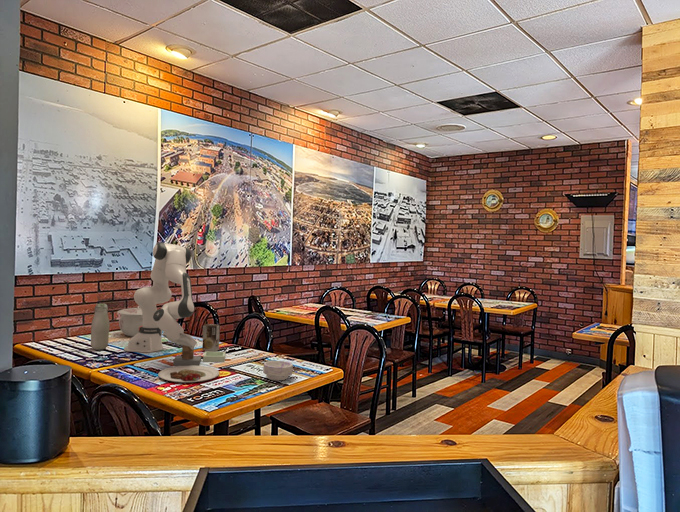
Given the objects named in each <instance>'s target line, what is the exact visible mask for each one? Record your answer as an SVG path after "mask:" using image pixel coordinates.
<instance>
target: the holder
mask: <svg viewBox="0 0 680 512" xmlns="http://www.w3.org/2000/svg"><path fill="white" fill-rule="evenodd" d="M225 361H226V351H204V353H203V356H202V362H203V363H225Z"/></svg>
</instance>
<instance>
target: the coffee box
mask: <svg viewBox="0 0 680 512" xmlns="http://www.w3.org/2000/svg"><path fill="white" fill-rule="evenodd" d="M220 333H221V325H220V324H219V323H218V324H216V323H214V324H213V323H206V324H203V325H202V350H205V351H204V352H218V351H219V349H220V336H221V335H220ZM202 350H201V351H202Z"/></svg>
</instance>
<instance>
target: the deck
mask: <svg viewBox="0 0 680 512" xmlns="http://www.w3.org/2000/svg"><path fill="white" fill-rule="evenodd" d="M201 363H202V356H200V355H194V356H193V359H188V360H187V359H184V358H182V355H176V356H174V358H173V360H172V367H176V366H188V365H196V366H201Z"/></svg>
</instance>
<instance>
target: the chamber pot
mask: <svg viewBox="0 0 680 512" xmlns="http://www.w3.org/2000/svg"><path fill="white" fill-rule="evenodd" d="M116 313H117V314H118V315H119V314H120V316H119V318H118V324H119V329H120V331H121V332H122V333H123V334H124V336H126V337H131V338H132V337H133V336H135V335H136V334H138V333H139V327H140V326H142V325H143V315H142V310H141V308H140V306H139V305H138V306H137V307H129V308H124V309H123V308H122V309H120V310H117V312H116Z"/></svg>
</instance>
